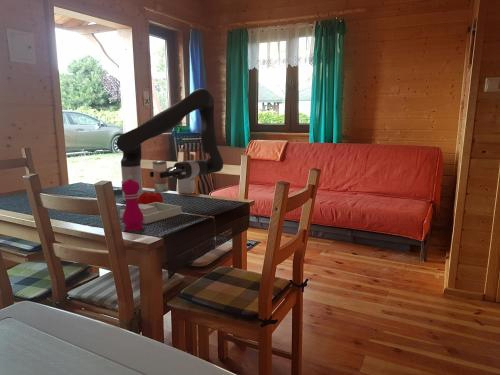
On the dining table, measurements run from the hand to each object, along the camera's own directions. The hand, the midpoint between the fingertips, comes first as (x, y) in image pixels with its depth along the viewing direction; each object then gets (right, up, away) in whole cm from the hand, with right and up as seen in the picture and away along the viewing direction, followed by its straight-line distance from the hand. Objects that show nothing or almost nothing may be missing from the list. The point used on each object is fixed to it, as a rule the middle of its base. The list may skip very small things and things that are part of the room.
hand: (155, 174), depth 147 cm
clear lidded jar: (+2, -6, +3) cm, 7 cm away
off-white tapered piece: (-5, -17, 0) cm, 18 cm away
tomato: (-8, -14, +23) cm, 29 cm away
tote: (-2, -17, +3) cm, 18 cm away
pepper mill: (-4, -21, -14) cm, 25 cm away
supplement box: (+3, -8, +57) cm, 58 cm away
